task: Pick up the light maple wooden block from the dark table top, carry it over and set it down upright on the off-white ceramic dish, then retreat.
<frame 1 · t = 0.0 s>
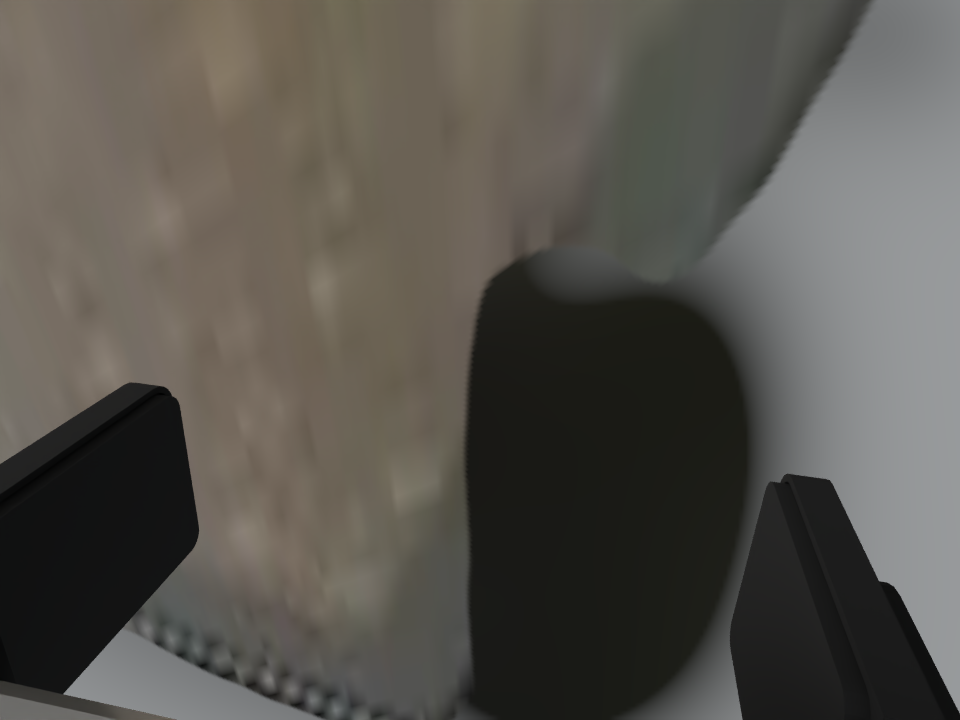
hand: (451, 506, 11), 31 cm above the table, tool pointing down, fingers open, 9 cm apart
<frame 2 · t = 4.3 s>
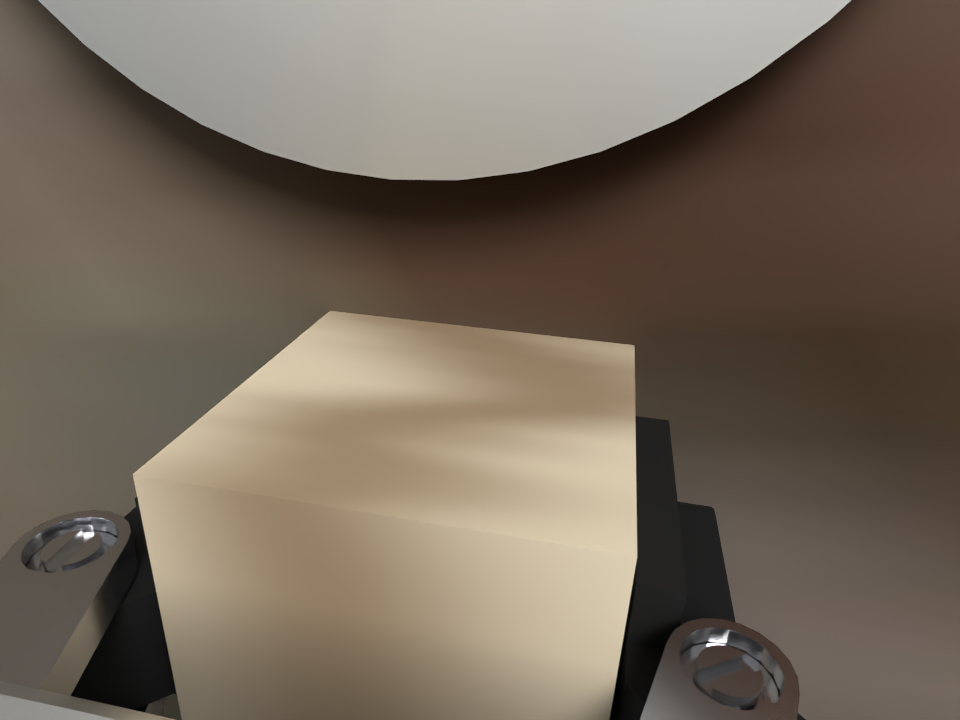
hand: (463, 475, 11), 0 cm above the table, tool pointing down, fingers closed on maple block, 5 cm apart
maple block: (470, 459, 12), on the table, touching gripper
when the fingers open (3 cm above the table, at t = 10.0 s): maple block drops 1 cm, resting on ceramic dish.
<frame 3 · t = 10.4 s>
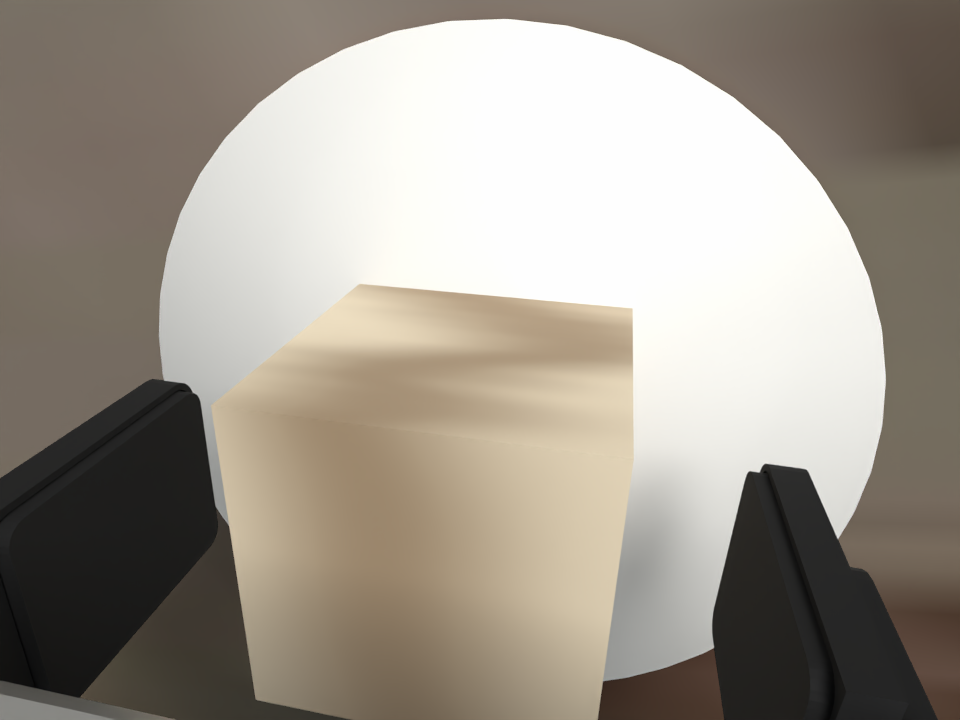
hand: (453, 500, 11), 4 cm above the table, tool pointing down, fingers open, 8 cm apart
ceramic dish: (497, 392, 14), on the table
maple block: (487, 417, 13), point 1 cm above the table, touching ceramic dish
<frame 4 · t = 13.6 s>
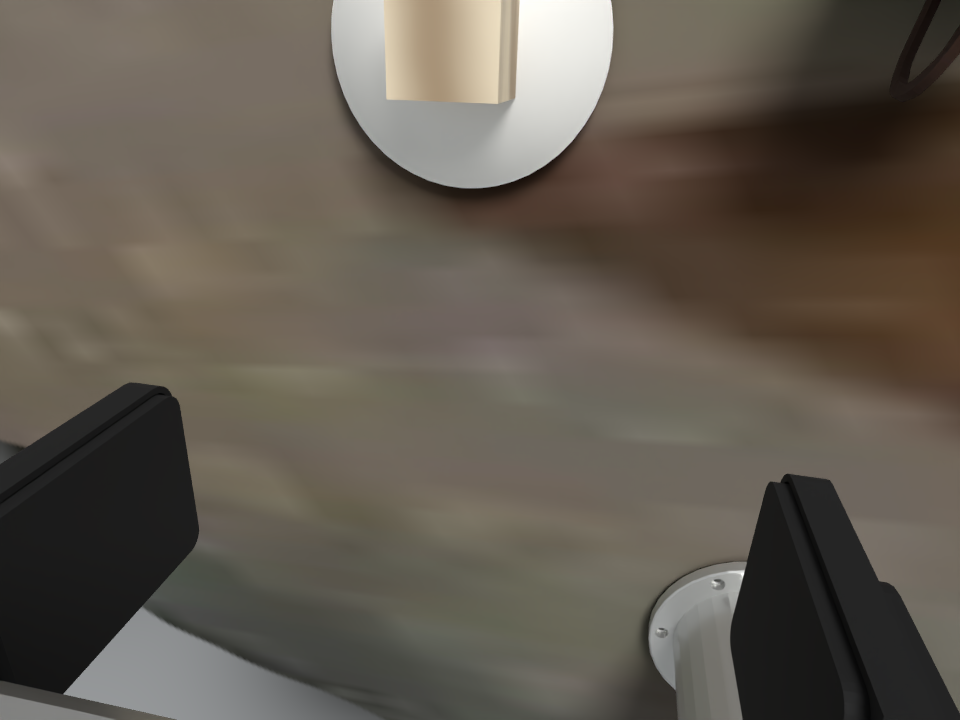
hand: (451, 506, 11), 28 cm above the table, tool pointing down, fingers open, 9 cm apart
ceramic dish: (471, 42, 34), on the table
maple block: (467, 41, 33), point 1 cm above the table, touching ceramic dish
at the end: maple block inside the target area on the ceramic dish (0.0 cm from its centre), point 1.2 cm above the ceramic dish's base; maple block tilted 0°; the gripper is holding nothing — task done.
